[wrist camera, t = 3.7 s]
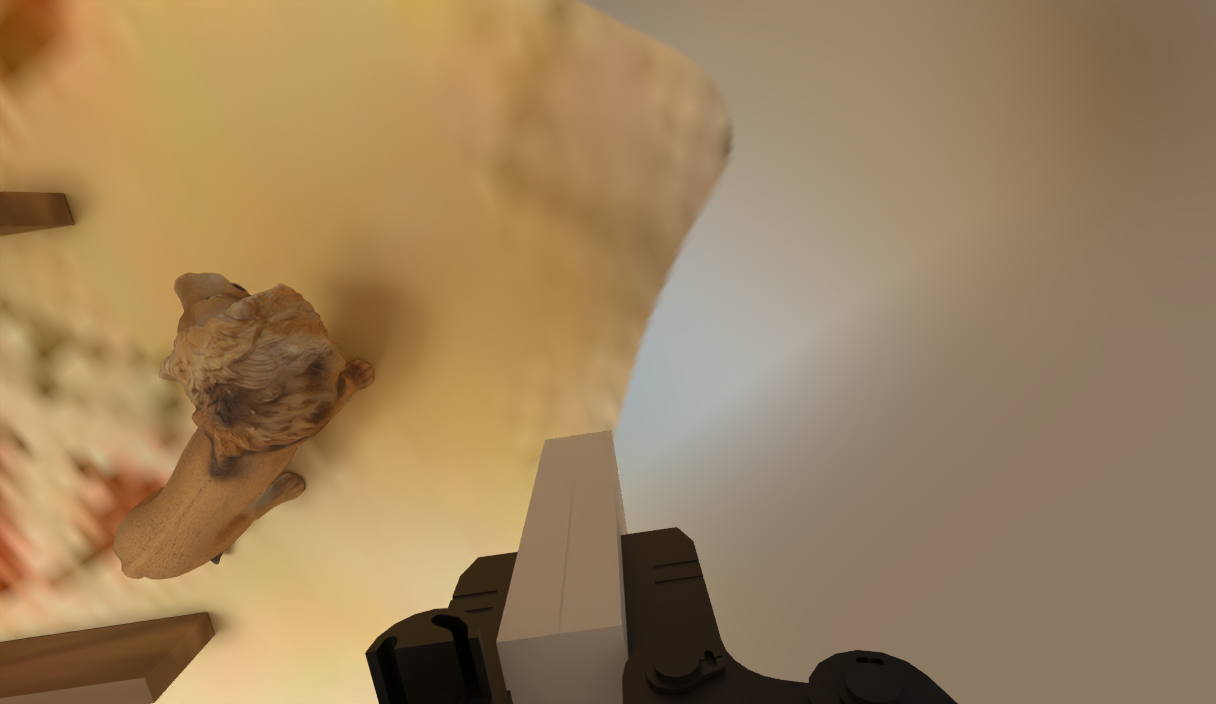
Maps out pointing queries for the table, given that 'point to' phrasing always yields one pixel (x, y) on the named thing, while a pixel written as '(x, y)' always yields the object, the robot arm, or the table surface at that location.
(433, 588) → the table surface
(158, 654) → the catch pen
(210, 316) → the lion figurine
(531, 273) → the table surface
